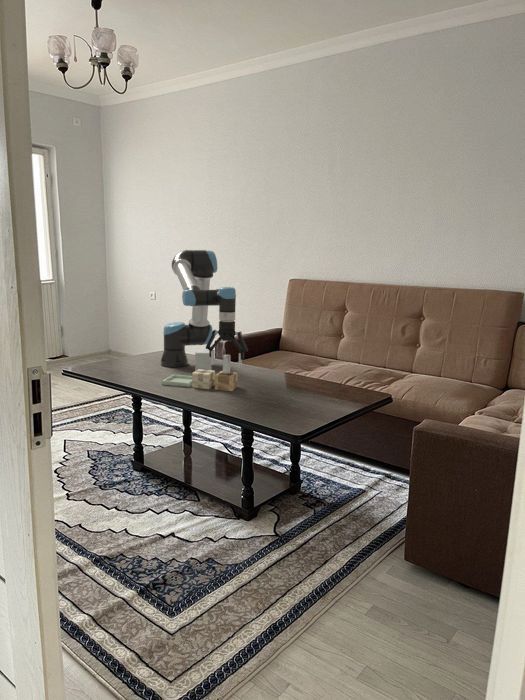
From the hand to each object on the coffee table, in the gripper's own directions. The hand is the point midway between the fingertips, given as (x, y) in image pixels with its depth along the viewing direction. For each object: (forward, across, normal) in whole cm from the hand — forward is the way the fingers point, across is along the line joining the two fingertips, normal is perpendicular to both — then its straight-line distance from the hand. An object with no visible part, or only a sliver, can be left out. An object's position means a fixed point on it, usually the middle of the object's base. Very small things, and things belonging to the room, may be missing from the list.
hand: (226, 365), depth 256 cm
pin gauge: (+11, 0, 0) cm, 11 cm away
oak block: (+11, 0, 0) cm, 11 cm away
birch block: (+11, -11, 0) cm, 16 cm away
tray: (+11, -24, +2) cm, 27 cm away
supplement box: (+12, -19, +20) cm, 30 cm away
